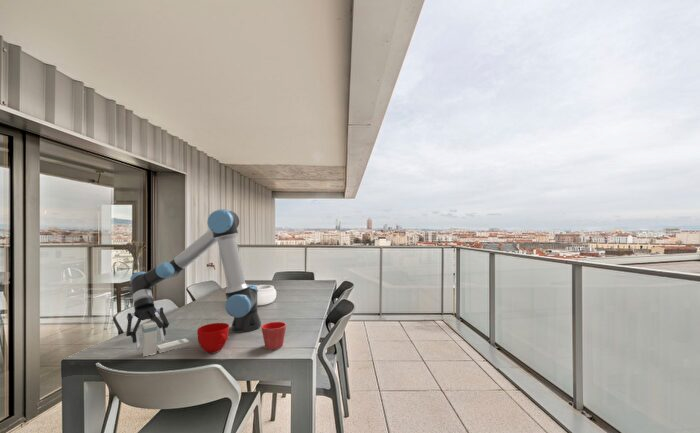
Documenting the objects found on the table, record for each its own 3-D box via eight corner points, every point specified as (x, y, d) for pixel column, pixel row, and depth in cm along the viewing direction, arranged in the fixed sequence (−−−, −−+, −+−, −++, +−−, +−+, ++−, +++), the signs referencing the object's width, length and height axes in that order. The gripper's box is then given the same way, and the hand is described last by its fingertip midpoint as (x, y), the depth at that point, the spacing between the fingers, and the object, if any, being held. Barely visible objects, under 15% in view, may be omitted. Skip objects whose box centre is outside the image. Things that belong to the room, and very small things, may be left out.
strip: (185, 342, 142) (185, 337, 142) (189, 345, 138) (189, 341, 138) (155, 350, 134) (155, 345, 134) (159, 353, 130) (159, 348, 130)
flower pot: (265, 342, 141) (265, 321, 141) (288, 342, 141) (288, 321, 141) (258, 351, 130) (258, 329, 131) (282, 351, 130) (282, 328, 130)
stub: (154, 351, 133) (154, 321, 133) (156, 353, 129) (157, 323, 130) (141, 354, 129) (142, 324, 130) (144, 357, 126) (144, 326, 127)
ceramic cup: (209, 361, 121) (209, 336, 121) (192, 351, 132) (192, 328, 132) (238, 351, 131) (238, 328, 131) (220, 342, 142) (220, 321, 142)
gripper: (167, 302, 148) (176, 342, 137) (114, 310, 134) (119, 357, 122) (170, 292, 145) (180, 334, 133) (116, 300, 130) (121, 348, 118)
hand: (151, 345), depth 127 cm, fingers open, 8 cm apart
